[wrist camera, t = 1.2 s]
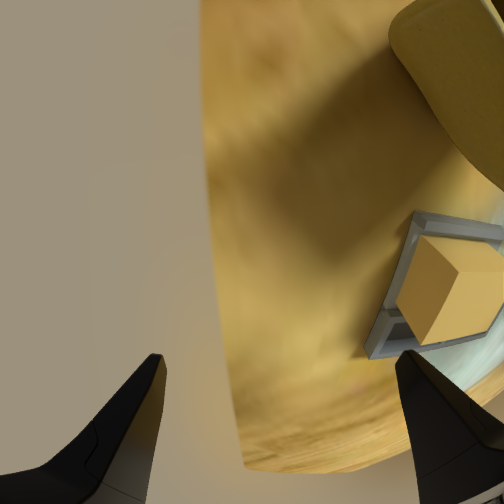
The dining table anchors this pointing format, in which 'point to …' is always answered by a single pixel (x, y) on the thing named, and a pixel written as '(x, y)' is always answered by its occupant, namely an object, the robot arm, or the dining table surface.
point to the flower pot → (459, 72)
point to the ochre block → (451, 288)
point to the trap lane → (390, 317)
